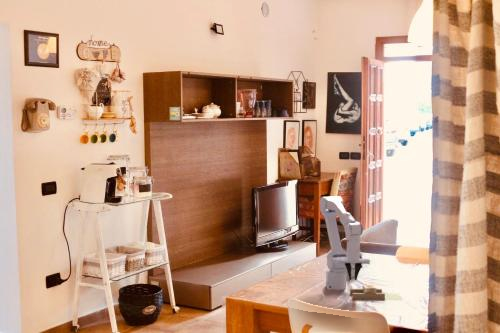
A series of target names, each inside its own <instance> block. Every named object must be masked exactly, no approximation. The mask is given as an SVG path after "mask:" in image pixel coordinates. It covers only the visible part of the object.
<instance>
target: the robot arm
mask: <svg viewBox="0 0 500 333" xmlns="http://www.w3.org/2000/svg"><path fill="white" fill-rule="evenodd" d="M319 208H320V213H321V215H322V216H323V217H324V221H325V226H326V229H327V230H326V231H327V236H328V240H329V245H330V251H329V252H328V253H327V255H326V266H327V268H328V270H326V273H325V279H326V280H325V286H326V289H327V290H337V291H343V290H346V289H347V277H346V272H347V271H348V275H349V277H348V280H349V281H352V277H351V264H355V277H354V280H355V281H357V280H358V276H359V273H360V271H361V269H362V267H363V265H370V264H371V260H370V259H369V258H363V259H361V258H360V252H361V236H362V235H363V230H364V227H363V225H362V223H361V222H360V221H357V220H356V219H355V218H354V216H352V214H351V213H350V212H348V211H347V210H346V209H345V207H344V200H343V197H342V196H341V195H338V196H337V195H336V196H321V197H320V200H319ZM337 216H339V221H340V224H341V225H342V226H343V228H344V233H345V240H346V249H347V252H346V251H344V250H343V249H344V248H343V247H342V243H341V238H340V233H339V229H338V224H337V219H336V217H337ZM342 248H343V249H342Z"/></svg>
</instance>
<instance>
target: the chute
mask: <svg viewBox="0 0 500 333" xmlns="http://www.w3.org/2000/svg"><path fill="white" fill-rule="evenodd" d="M349 290H350V291H349V295H350V296H351V299H352V300H354V301H357V300H358V301H359V300H360V301H361V300H362V301H365V300H366V301H367V300H368V301H369V300H370V301H371V300H373V301H374V300H375V301H378V300H379V301H404V299H403V297H402V296H401V295H400V293H383V289H382V288H376V293H363V288H350V289H349Z"/></svg>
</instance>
